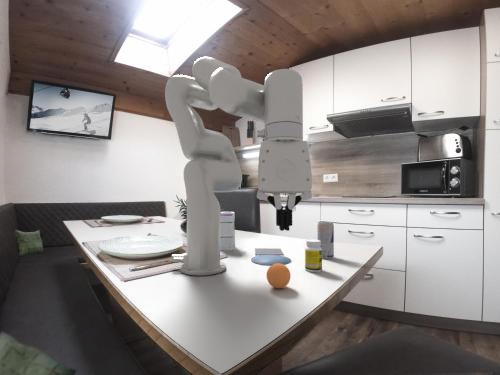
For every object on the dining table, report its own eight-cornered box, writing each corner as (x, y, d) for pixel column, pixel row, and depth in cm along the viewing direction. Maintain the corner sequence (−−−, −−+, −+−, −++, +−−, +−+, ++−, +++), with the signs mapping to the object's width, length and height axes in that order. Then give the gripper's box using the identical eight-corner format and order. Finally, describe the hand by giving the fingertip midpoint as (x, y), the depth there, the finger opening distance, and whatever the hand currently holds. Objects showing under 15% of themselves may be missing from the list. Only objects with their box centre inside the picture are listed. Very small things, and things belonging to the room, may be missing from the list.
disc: (250, 265, 79) (250, 264, 79) (251, 255, 92) (251, 254, 92) (293, 265, 78) (293, 264, 78) (288, 255, 91) (288, 254, 91)
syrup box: (234, 250, 99) (234, 212, 100) (218, 250, 99) (218, 212, 100) (235, 247, 105) (235, 211, 105) (220, 247, 105) (220, 211, 105)
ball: (267, 292, 57) (267, 266, 57) (265, 283, 63) (265, 260, 63) (292, 292, 57) (292, 267, 57) (288, 283, 63) (288, 260, 63)
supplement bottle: (322, 273, 71) (322, 242, 71) (305, 272, 72) (305, 241, 72) (321, 268, 76) (321, 239, 76) (304, 267, 77) (304, 238, 77)
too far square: (255, 254, 92) (255, 254, 92) (255, 248, 102) (255, 248, 102) (283, 255, 92) (283, 254, 92) (280, 249, 102) (280, 248, 102)
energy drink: (335, 256, 90) (335, 222, 90) (331, 260, 85) (331, 223, 85) (320, 254, 92) (320, 221, 93) (315, 258, 88) (315, 222, 88)
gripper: (245, 131, 48) (245, 232, 47) (327, 131, 47) (328, 232, 47) (246, 140, 55) (246, 227, 54) (316, 140, 55) (317, 227, 54)
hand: (284, 229), depth 51 cm, fingers closed
